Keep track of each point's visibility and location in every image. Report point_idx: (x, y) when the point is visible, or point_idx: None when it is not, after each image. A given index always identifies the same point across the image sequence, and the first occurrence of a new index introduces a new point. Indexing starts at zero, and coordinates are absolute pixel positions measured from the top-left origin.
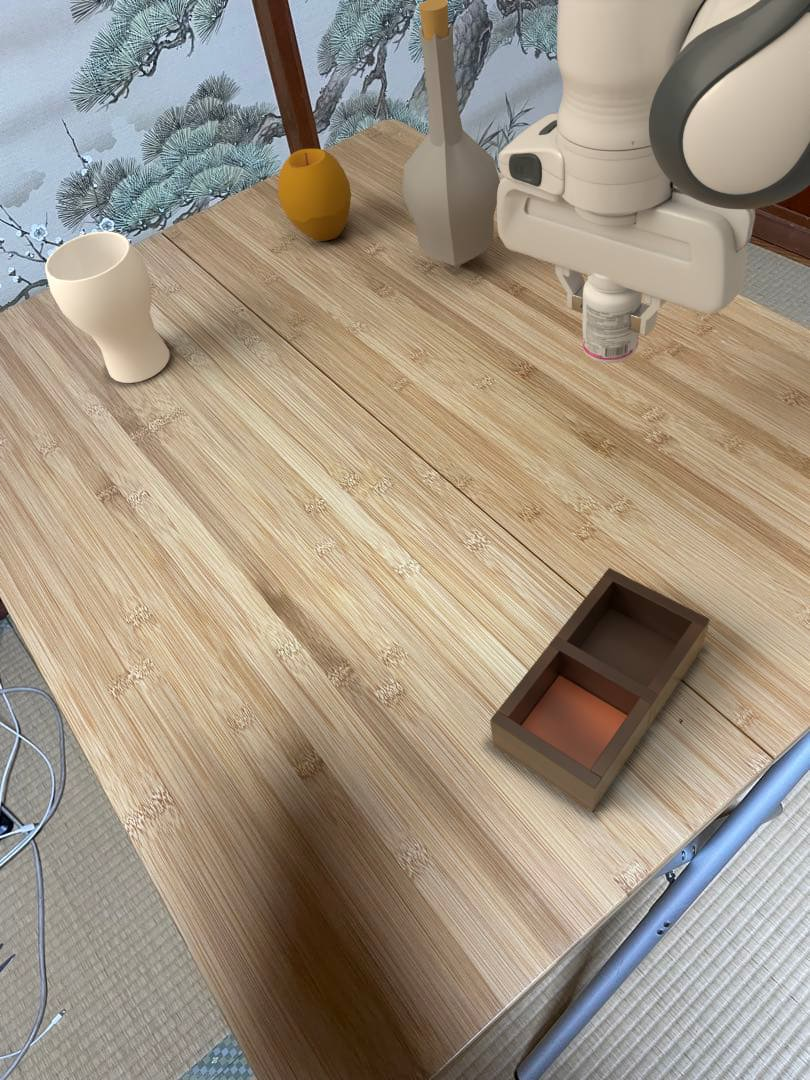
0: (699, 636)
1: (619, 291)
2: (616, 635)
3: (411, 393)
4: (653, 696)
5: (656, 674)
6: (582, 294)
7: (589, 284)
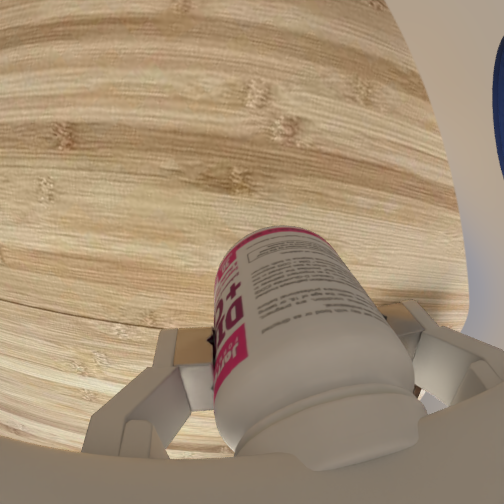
0: None
1: None
2: None
3: (12, 257)
4: (417, 395)
5: (416, 386)
6: (211, 400)
7: None
